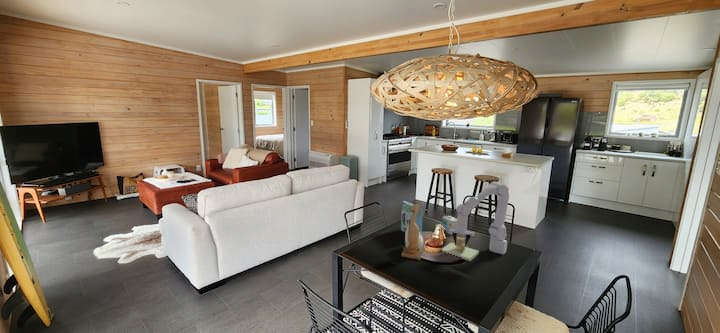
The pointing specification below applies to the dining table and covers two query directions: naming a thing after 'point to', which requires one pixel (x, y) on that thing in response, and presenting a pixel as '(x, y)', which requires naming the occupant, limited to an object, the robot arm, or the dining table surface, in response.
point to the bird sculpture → (413, 236)
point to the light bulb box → (449, 223)
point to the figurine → (420, 241)
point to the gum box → (408, 214)
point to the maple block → (460, 243)
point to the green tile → (460, 252)
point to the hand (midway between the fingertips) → (460, 245)
